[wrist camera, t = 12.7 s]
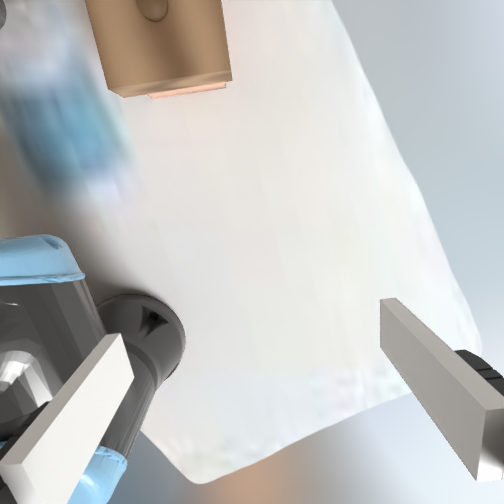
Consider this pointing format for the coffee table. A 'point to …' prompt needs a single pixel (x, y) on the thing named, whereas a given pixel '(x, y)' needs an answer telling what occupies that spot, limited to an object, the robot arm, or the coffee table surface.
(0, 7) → the beverage cup
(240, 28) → the coffee table surface
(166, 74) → the lid
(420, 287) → the coffee table surface
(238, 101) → the coffee table surface
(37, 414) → the robot arm
